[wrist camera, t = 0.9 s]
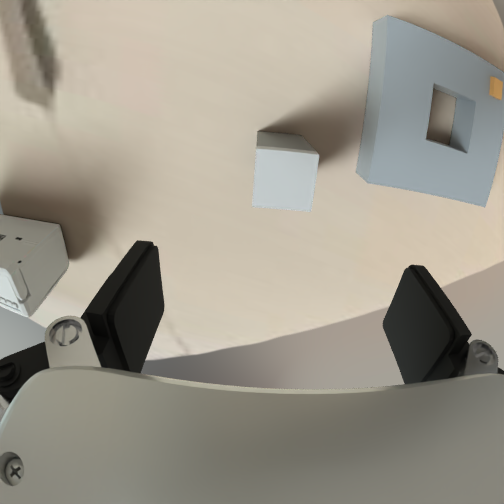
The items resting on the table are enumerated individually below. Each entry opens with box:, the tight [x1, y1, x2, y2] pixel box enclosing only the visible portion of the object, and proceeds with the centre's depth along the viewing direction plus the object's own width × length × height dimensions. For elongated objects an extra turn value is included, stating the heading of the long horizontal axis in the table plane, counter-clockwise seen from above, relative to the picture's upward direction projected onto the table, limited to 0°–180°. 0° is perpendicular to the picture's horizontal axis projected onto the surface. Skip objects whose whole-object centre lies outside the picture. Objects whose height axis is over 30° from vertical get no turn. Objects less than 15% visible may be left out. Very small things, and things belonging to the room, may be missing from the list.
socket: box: [356, 15, 504, 207], centre depth 23 cm, size 18×18×5 cm
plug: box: [252, 131, 319, 212], centre depth 25 cm, size 5×5×10 cm
